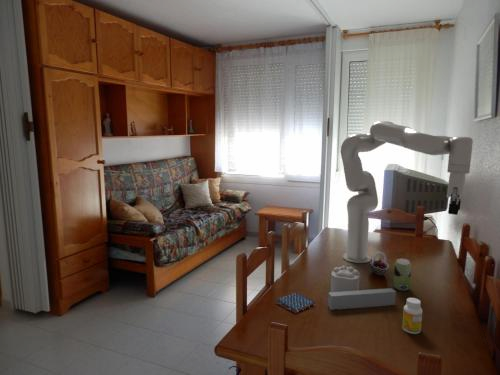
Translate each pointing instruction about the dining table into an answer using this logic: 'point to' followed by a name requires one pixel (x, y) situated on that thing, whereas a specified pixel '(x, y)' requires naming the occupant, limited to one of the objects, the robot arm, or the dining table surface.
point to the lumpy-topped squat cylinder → (345, 279)
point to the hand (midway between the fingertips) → (454, 211)
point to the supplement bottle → (412, 316)
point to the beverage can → (402, 274)
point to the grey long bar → (361, 298)
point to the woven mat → (295, 302)
